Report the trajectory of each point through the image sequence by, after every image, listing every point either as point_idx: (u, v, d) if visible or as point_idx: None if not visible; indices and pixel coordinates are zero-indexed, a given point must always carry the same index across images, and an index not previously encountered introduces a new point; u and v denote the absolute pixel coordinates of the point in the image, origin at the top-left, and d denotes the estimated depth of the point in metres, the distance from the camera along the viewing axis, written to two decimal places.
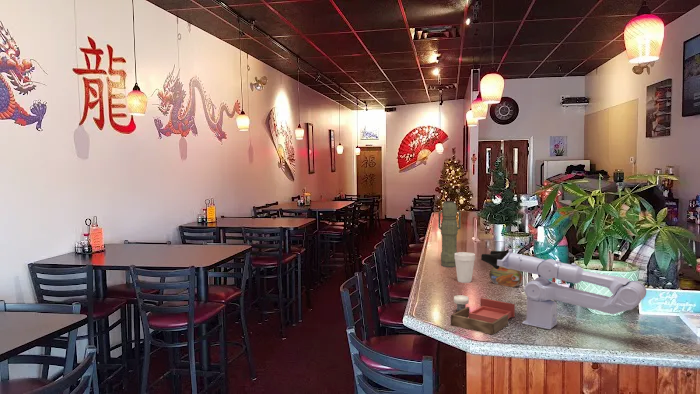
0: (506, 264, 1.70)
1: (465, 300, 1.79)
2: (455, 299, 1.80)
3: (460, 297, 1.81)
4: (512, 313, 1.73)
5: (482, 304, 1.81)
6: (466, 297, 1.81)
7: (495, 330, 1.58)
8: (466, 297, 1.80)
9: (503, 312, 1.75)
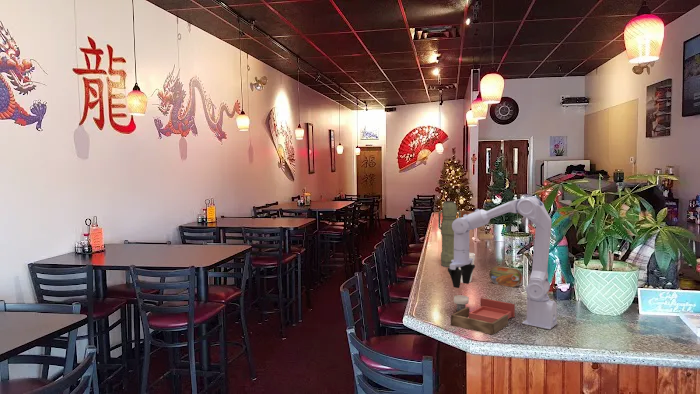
0: None
1: (465, 300, 1.79)
2: (455, 299, 1.80)
3: (460, 297, 1.81)
4: (512, 313, 1.73)
5: (482, 304, 1.81)
6: (466, 297, 1.81)
7: (495, 330, 1.58)
8: (466, 297, 1.80)
9: (503, 312, 1.75)
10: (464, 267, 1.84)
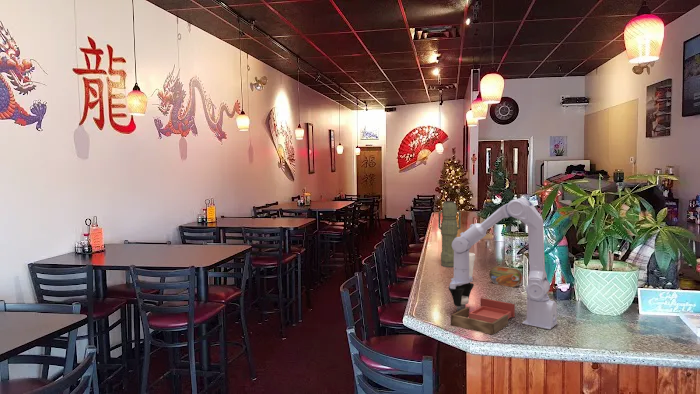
0: (460, 282, 1.78)
1: (465, 300, 1.79)
2: None
3: None
4: (512, 313, 1.73)
5: (482, 304, 1.81)
6: (466, 297, 1.81)
7: (495, 330, 1.58)
8: (466, 297, 1.80)
9: (503, 312, 1.75)
10: (463, 286, 1.84)
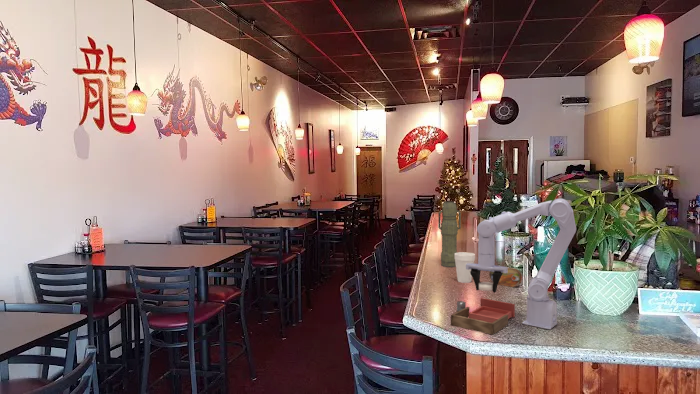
0: (477, 265, 1.74)
1: (481, 286, 1.72)
2: None
3: (484, 283, 1.74)
4: (512, 313, 1.73)
5: (482, 304, 1.81)
6: (487, 285, 1.72)
7: (495, 330, 1.58)
8: (485, 284, 1.72)
9: (503, 312, 1.75)
10: None
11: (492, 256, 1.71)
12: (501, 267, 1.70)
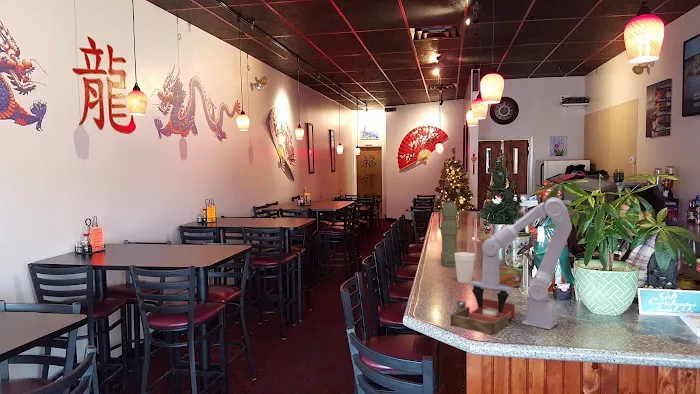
0: (481, 284, 1.73)
1: (484, 312, 1.72)
2: None
3: (488, 309, 1.73)
4: (512, 313, 1.73)
5: None
6: (491, 311, 1.71)
7: (495, 330, 1.58)
8: (489, 311, 1.71)
9: (503, 312, 1.75)
10: None
11: (496, 275, 1.69)
12: (505, 287, 1.69)
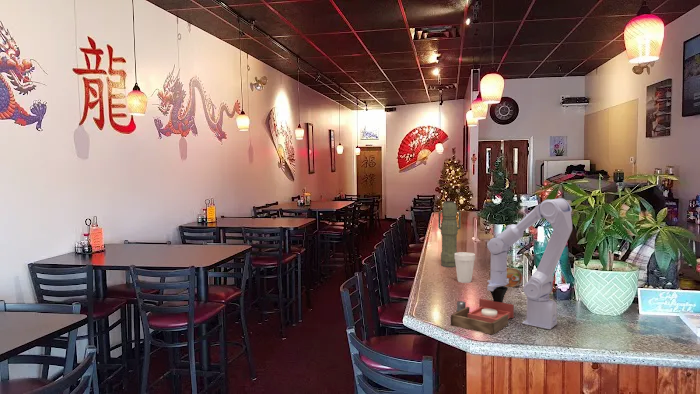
0: (497, 284, 1.75)
1: (483, 313, 1.71)
2: None
3: (487, 310, 1.73)
4: (511, 314, 1.73)
5: (481, 305, 1.80)
6: (489, 312, 1.70)
7: (495, 330, 1.58)
8: (488, 312, 1.71)
9: (502, 313, 1.74)
10: None
11: None
12: None
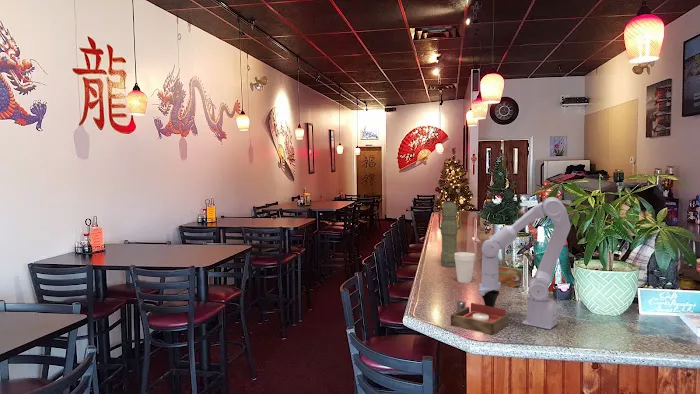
0: (489, 288, 1.69)
1: (474, 318, 1.66)
2: None
3: (478, 315, 1.67)
4: None
5: (472, 309, 1.75)
6: (481, 317, 1.65)
7: (495, 330, 1.58)
8: (479, 317, 1.65)
9: (494, 317, 1.69)
10: None
11: None
12: None
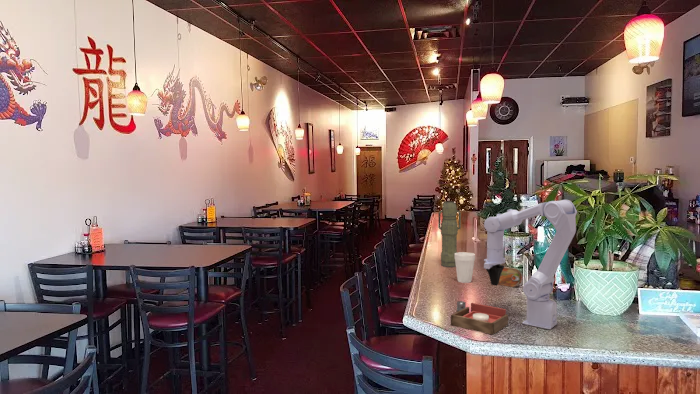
0: (494, 262, 1.76)
1: (474, 318, 1.66)
2: None
3: (478, 315, 1.67)
4: None
5: (472, 309, 1.75)
6: (481, 317, 1.65)
7: (495, 330, 1.58)
8: (479, 317, 1.65)
9: (494, 317, 1.69)
10: None
11: None
12: None
